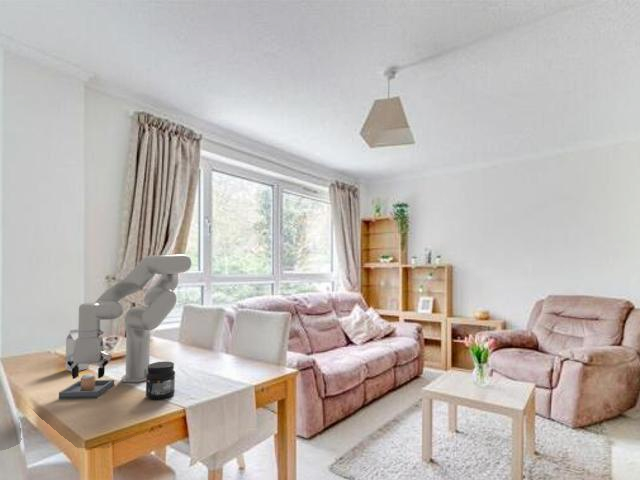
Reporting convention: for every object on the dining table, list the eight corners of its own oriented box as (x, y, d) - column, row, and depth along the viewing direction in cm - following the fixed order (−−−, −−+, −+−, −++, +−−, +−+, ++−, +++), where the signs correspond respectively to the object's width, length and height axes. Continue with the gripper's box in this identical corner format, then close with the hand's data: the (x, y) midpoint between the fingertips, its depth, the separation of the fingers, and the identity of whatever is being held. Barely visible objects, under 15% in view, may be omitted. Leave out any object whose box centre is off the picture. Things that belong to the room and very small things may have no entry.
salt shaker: (97, 387, 155) (97, 373, 155) (91, 391, 150) (91, 377, 150) (84, 387, 155) (84, 373, 155) (77, 392, 150) (78, 377, 150)
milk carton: (88, 368, 184) (89, 328, 184) (72, 372, 178) (73, 331, 178) (81, 366, 187) (82, 327, 188) (65, 370, 181) (66, 329, 182)
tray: (114, 385, 160) (114, 379, 160) (97, 398, 146) (97, 391, 146) (79, 386, 159) (79, 380, 159) (58, 399, 145) (58, 392, 145)
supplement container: (153, 390, 154) (153, 360, 155) (179, 391, 154) (179, 361, 154) (140, 400, 144) (140, 368, 144) (167, 401, 143) (168, 368, 144)
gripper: (115, 331, 158) (115, 374, 157) (71, 332, 156) (70, 375, 156) (107, 335, 150) (106, 380, 150) (60, 336, 149) (59, 381, 148)
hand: (88, 377), depth 153 cm, fingers open, 9 cm apart
